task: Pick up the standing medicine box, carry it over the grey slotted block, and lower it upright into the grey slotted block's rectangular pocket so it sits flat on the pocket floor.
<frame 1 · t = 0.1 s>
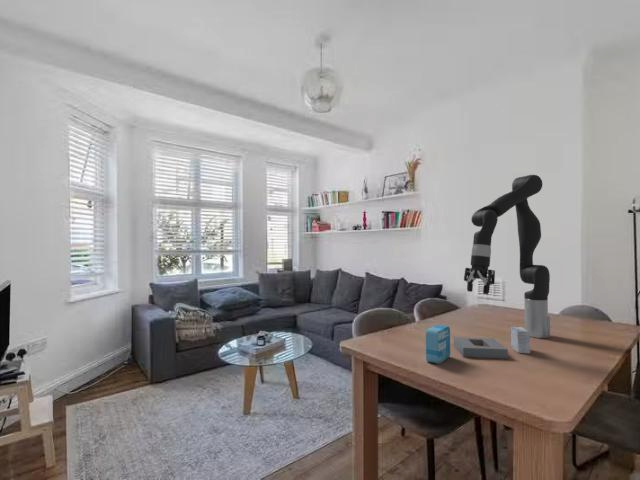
hand: (477, 292, 145), 22 cm above the table, tool pointing down, fingers open, 8 cm apart
grey slotted block: (479, 351, 135), on the table
blue printed box: (438, 360, 126), on the table
medicine box: (520, 351, 136), on the table
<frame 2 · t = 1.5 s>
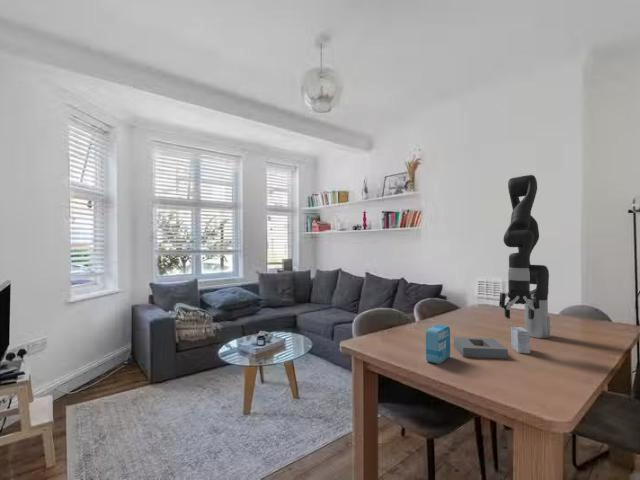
hand: (519, 318, 136), 13 cm above the table, tool pointing down, fingers open, 8 cm apart
nothing on the table moved.
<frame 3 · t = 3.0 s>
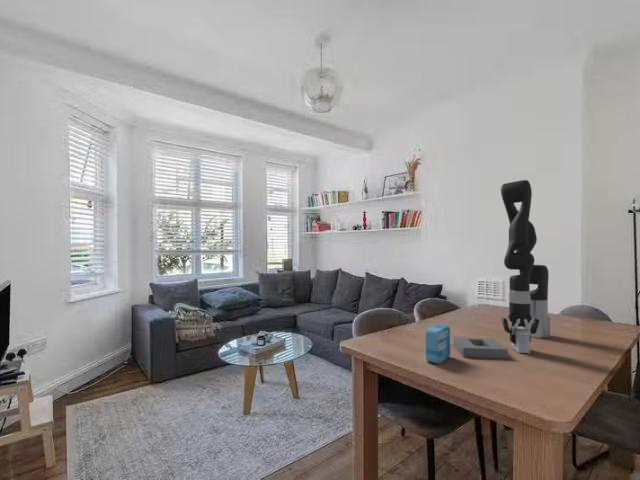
hand: (520, 343, 136), 3 cm above the table, tool pointing down, fingers closed on medicine box, 4 cm apart
medicine box: (520, 350, 136), on the table, touching gripper
everything else where it was.
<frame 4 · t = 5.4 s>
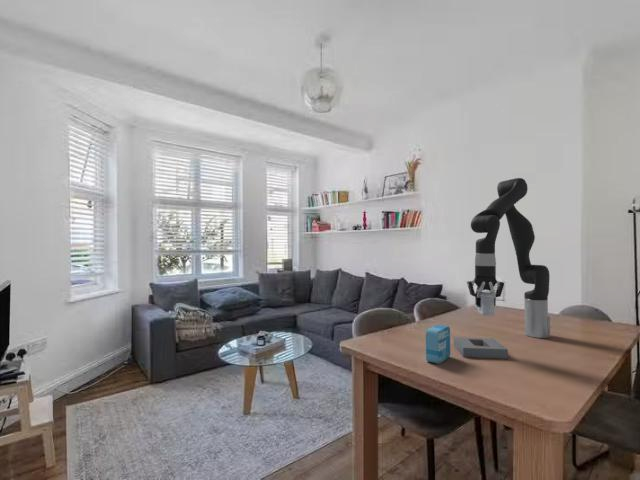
hand: (485, 306, 135), 18 cm above the table, tool pointing down, fingers closed on medicine box, 4 cm apart
medicine box: (485, 314, 135), point 15 cm above the table, touching gripper
everything else where it was.
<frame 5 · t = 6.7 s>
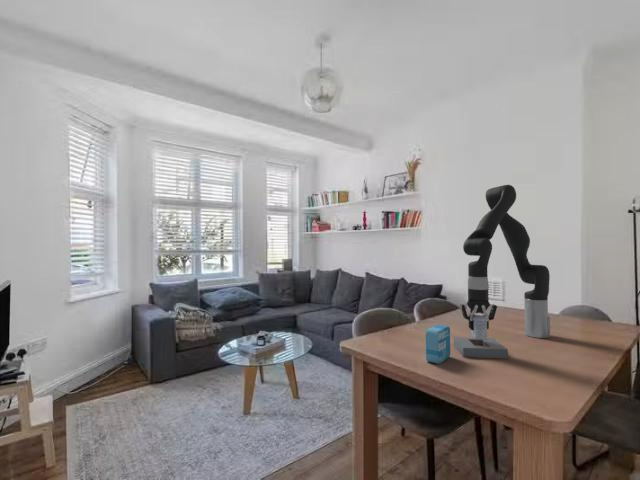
hand: (478, 329, 135), 9 cm above the table, tool pointing down, fingers closed on medicine box, 4 cm apart
medicine box: (478, 337, 135), point 6 cm above the table, touching gripper
everything else where it was.
when the fingers open (5 cm above the table, at t = 7.9 s): medicine box stays where it is, resting on grey slotted block.
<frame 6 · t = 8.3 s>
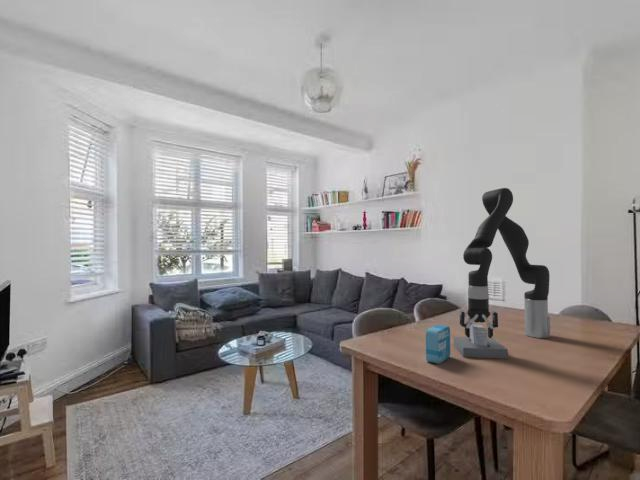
hand: (478, 337, 135), 6 cm above the table, tool pointing down, fingers open, 8 cm apart
medicine box: (478, 349, 135), point 1 cm above the table, touching grey slotted block
everything else where it was.
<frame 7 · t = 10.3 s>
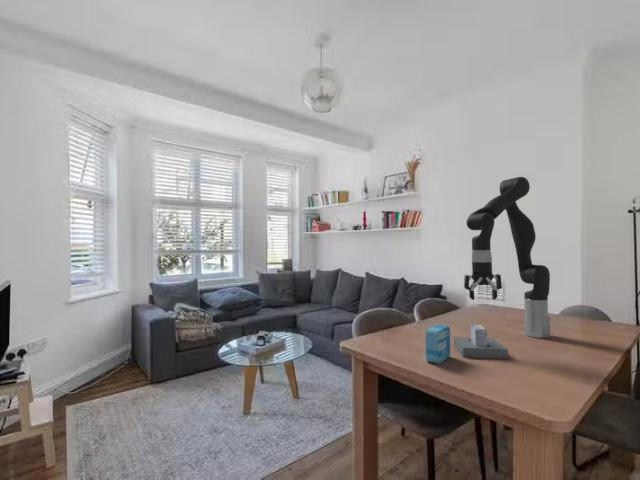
hand: (483, 299, 140), 20 cm above the table, tool pointing down, fingers open, 8 cm apart
nothing on the table moved.
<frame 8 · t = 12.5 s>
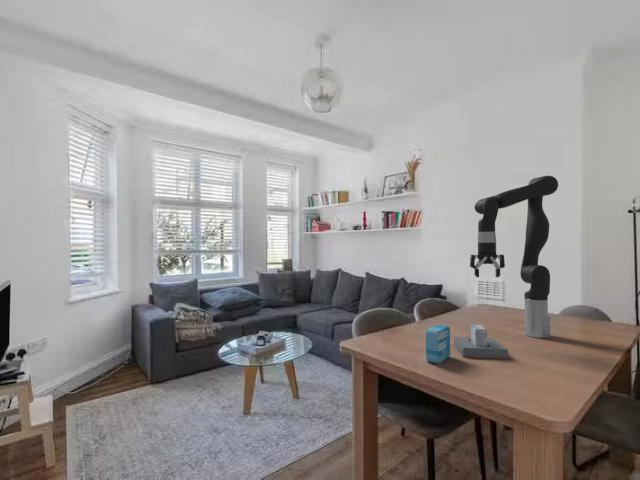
hand: (487, 277, 153), 28 cm above the table, tool pointing down, fingers open, 8 cm apart
nothing on the table moved.
at the end: medicine box 0.0 cm off-centre on the grey slotted block, point 1.0 cm above the grey slotted block's base; medicine box tilted 0°; the gripper is holding nothing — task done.
